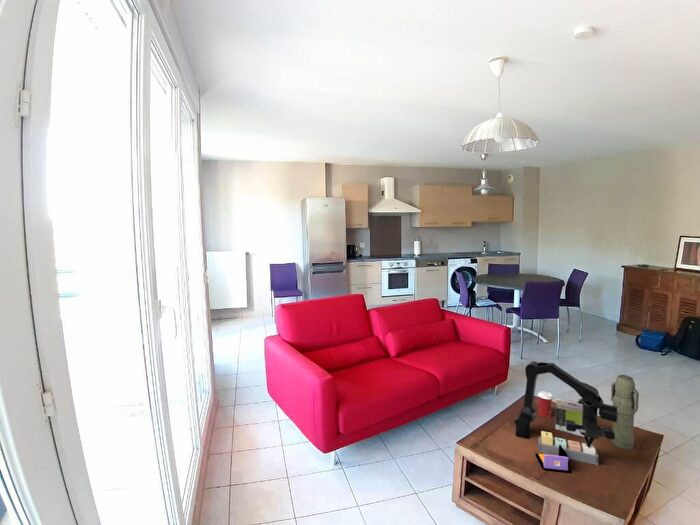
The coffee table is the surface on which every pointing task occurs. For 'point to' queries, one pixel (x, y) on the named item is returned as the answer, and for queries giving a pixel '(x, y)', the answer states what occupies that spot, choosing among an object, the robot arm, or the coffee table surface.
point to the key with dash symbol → (574, 446)
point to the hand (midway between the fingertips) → (588, 446)
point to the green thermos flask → (624, 411)
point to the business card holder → (555, 461)
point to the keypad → (569, 453)
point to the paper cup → (545, 404)
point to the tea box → (568, 414)
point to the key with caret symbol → (559, 442)
